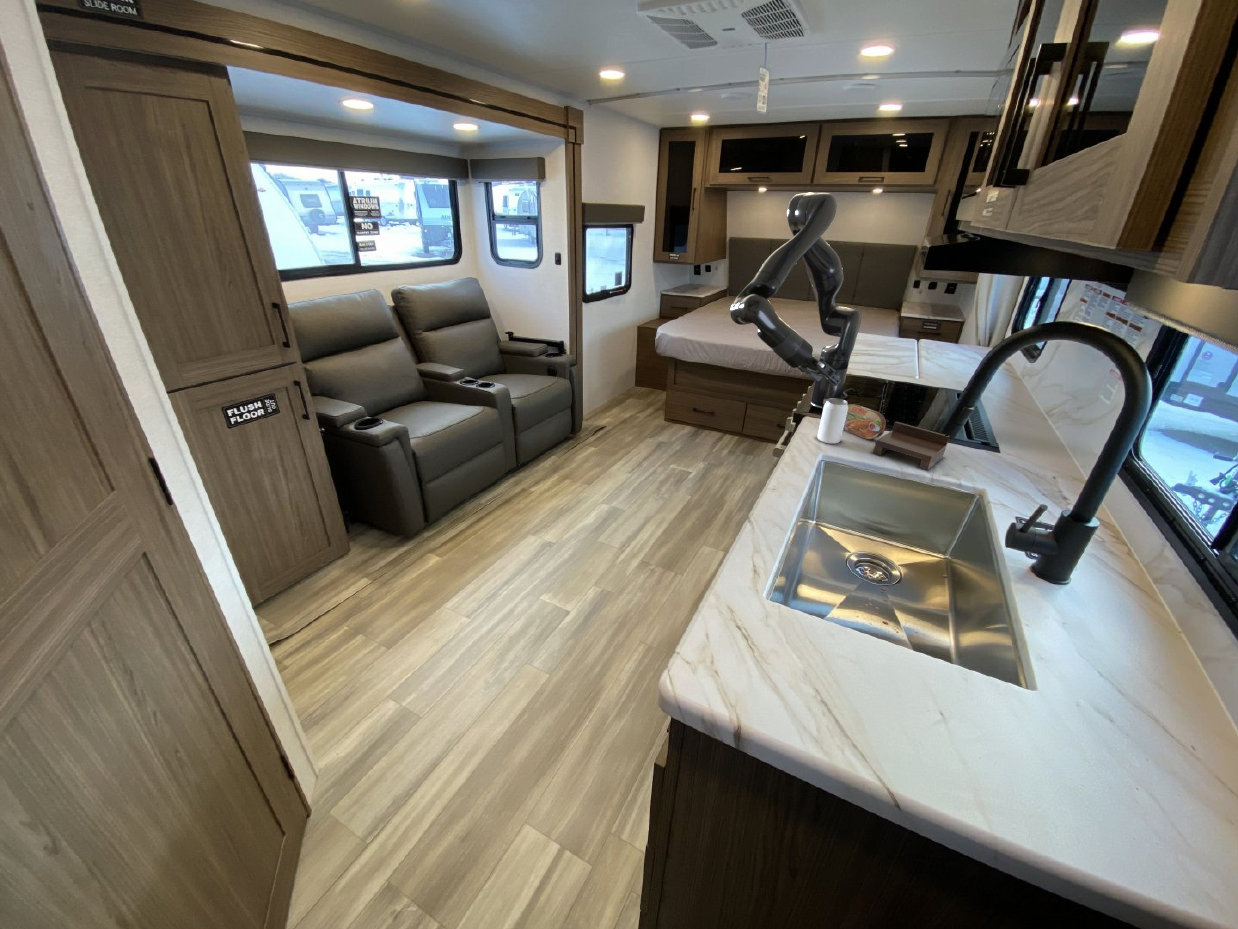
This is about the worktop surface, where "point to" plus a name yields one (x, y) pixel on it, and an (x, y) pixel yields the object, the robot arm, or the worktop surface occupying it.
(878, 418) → the tin
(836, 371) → the robot arm
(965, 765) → the worktop surface
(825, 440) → the can
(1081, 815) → the worktop surface
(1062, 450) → the worktop surface
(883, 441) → the bench
